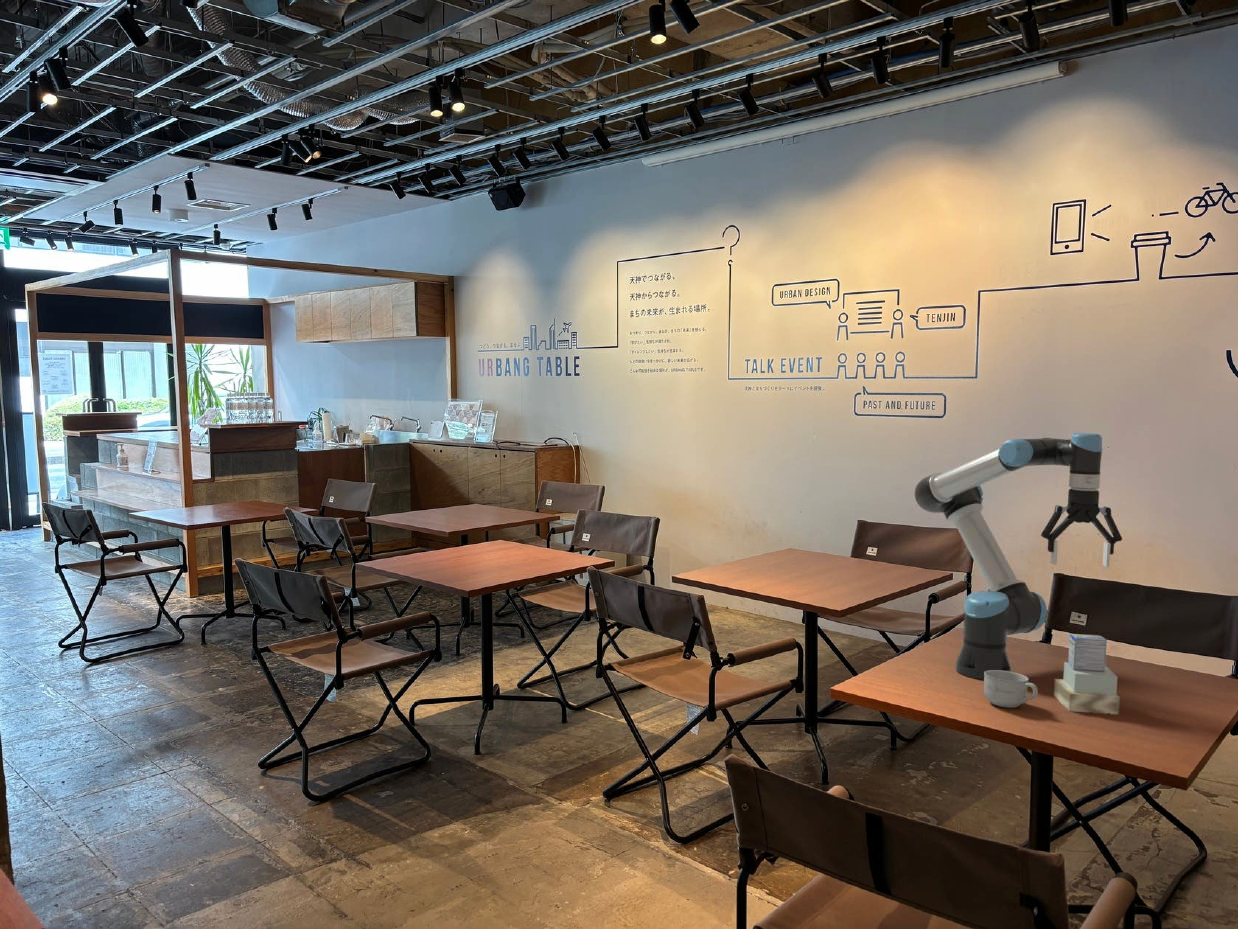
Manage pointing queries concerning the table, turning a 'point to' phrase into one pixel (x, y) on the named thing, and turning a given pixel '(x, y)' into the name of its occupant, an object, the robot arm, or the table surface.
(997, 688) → the teacup
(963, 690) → the table surface
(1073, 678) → the grey-green top block
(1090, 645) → the medicine box
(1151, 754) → the table surface
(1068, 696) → the birch base block
